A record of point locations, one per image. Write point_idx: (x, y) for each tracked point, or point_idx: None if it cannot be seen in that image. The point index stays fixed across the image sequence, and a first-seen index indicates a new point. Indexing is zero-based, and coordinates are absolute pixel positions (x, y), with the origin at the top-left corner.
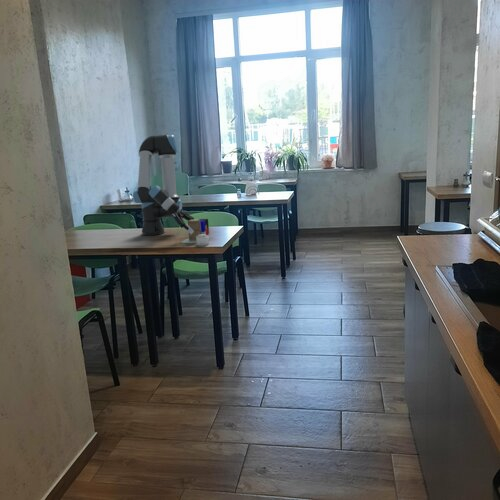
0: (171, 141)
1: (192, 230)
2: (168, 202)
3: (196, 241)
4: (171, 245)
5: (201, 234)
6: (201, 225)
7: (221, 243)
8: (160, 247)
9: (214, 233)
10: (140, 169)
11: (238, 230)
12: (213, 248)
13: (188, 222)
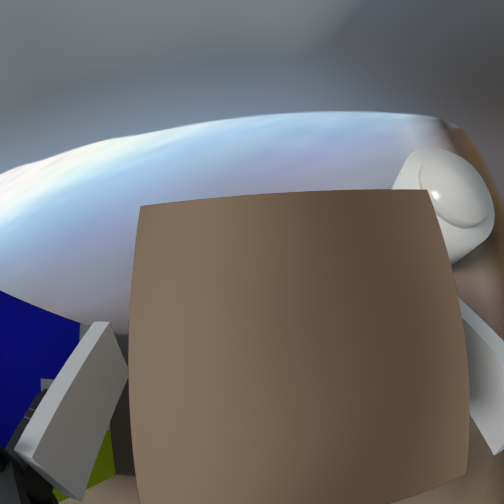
0: None
1: (463, 306)
2: None
3: (463, 256)
4: (463, 475)
5: (444, 195)
6: (29, 336)
7: (357, 122)
8: (501, 496)
9: (14, 286)
10: None
11: (2, 175)
12: (468, 141)
13: (447, 447)
